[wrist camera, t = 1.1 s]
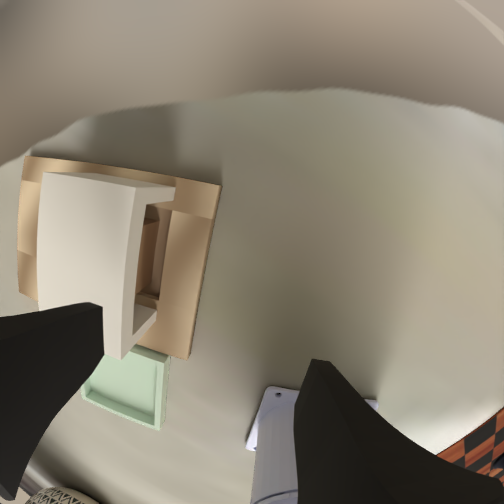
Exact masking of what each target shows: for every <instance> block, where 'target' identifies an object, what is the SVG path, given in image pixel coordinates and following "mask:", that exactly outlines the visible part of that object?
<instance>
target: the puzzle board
mask: <svg viewBox="0 0 504 504" xmlns="http://www.w3.org/2000/svg"><path fill="white" fill-rule="evenodd" d="M43 172H78V173H98V174H104V175H110V176H116V177H122V178H128V179H133V180H139V181H145V182H150V183H155V184H161V185H166V186H171V187H176V189H175V194H174V200H173V201H167V202H159V203H152V204H146V209H145V215H144V217H145V218H149V219H154V220H158V221H160V223H159V229H158V235H157V242H156V248H155V255H154V263H153V271H152V279H151V283H150V284H149V285H147V286H146V287H145V288H143V289H142V290H141V291H140V292H138V293H137V294H136V295H135V299H134V303H136V304H139V305H142V306H145V307H148V308H152V309H155V310H157V315H156V321H155V322H154V323H153V324H152V326H151V327H150V328H149V329H148V330H147V331H146V332H145V334H144V335H143V336H142V337H141V338H140V339H139V340H138V342H137V343H136V344H138V345H141V346H144V347H146V348H149V349H152V350H155V351H158V352H161V353H164V354H168V355H171V356H174V357H177V358H180V359H184V360H188V358H189V356H190V354H191V348H192V342H193V336H194V330H195V324H196V318H197V312H198V306H199V300H200V295H201V289H202V284H203V278H204V273H205V268H206V262H207V257H208V252H209V247H210V242H211V237H212V232H213V227H214V222H215V218H216V213H217V208H218V203H219V199H220V194H221V190H222V186H221V185H216V184H211V183H206V182H201V181H196V180H191V179H186V178H180V177H175V176H170V175H164V174H159V173H153V172H147V171H141V170H135V169H129V168H122V167H116V166H109V165H102V164H95V163H87V162H80V161H72V160H63V159H54V158H45V157H35V156H25V159H24V165H23V172H22V180H21V188H20V198H19V211H18V234H17V260H18V282H19V292H20V293H22V294H24V295H26V296H28V297H30V298H32V299H34V300H36V301H38V287H37V229H38V213H39V202H40V192H41V184H42V177H43Z"/></svg>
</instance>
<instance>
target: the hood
mask: <svg viewBox="0 0 504 504" xmlns="http://www.w3.org/2000/svg"><path fill="white" fill-rule="evenodd" d="M175 189H176V187H171V186H166V185H161V184H155V183H150V182H145V181H139V180H133V179H128V178H122V177H116V176H110V175H104V174H98V173H78V172H43V177H42V184H41V192H40V202H39V213H38V229H37V287H38V303H39V311H42V310H47V309H52V308H56V307H61V306H66V305H71V304H76V303H83V302H91V303H94V304H96V305H99V306H102V307H103V335H104V354H106V355H109V356H111V357H114V358H116V359H118V360H122V359H123V358H124V356H125V355H126V354H127V353H128V352H129V351H130V350H131V348H132V347H133V346H134V345H135V344H136V343H137V342H138V340H139V339H140V338H141V337H142V336H143V335H144V334H145V332H146V331H147V330H148V329H149V328H150V327H151V326H152V324H153V323H154V322H155V321H156V315H157V310H155V309H152V308H148V307H145V306H142V305H139V304H136V303H134V299H135V287H136V277H137V267H138V258H139V250H140V242H141V235H142V228H143V222H144V215H145V209H146V204H152V203H159V202H167V201H173V200H174V194H175Z"/></svg>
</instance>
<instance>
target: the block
mask: <svg viewBox="0 0 504 504" xmlns="http://www.w3.org/2000/svg"><path fill="white" fill-rule="evenodd" d="M159 223H160V221H158V220H154V219H149V218H145V217H144V222H143V228H142V235H141V242H140V250H139V258H138V267H137V277H136V287H135V295H136V294H137V293H138V292H140V291H141V290H142V289H143V288H145V287H146V286H147V285H149V284H150V283H151V279H152V271H153V263H154V255H155V248H156V242H157V235H158V229H159Z"/></svg>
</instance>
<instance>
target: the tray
mask: <svg viewBox="0 0 504 504" xmlns="http://www.w3.org/2000/svg"><path fill="white" fill-rule="evenodd" d="M170 356H171V355H168V354H164V353H161V352H158V351H155V350H152V349H149V348H146V347H144V346H141V345H138V344H135V345H134V346H133V347H132V348H131V350H130V351H129V352H128V353H127V354H126V355H125V356H124V358H123V359H122V360H118V359H116V358H114V357H111V356H109V355H106V354H105V355H104V356H103V358H102V359H101V361H100V363H99V364H98V366H97V367H96V369H95V370H94V372H93V373H92V375H91V376H90V377H89V378H88V379H87V380H86V382H85V383H84V384H83V385H82V386H81V387H80V389H81V395H82V399H84V400H86V401H88V402H90V403H92V404H94V405H96V406H99V407H101V408H103V409H105V410H107V411H109V412H112V413H114V414H116V415H119V416H121V417H123V418H126V419H128V420H131V421H133V422H136V423H138V424H141V425H144V426H146V427H149V428H152V429H155V430H158V431H160V430H161V427H162V425H163V423H164V421H165V411H166V398H167V386H168V376H169V366H170Z"/></svg>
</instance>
